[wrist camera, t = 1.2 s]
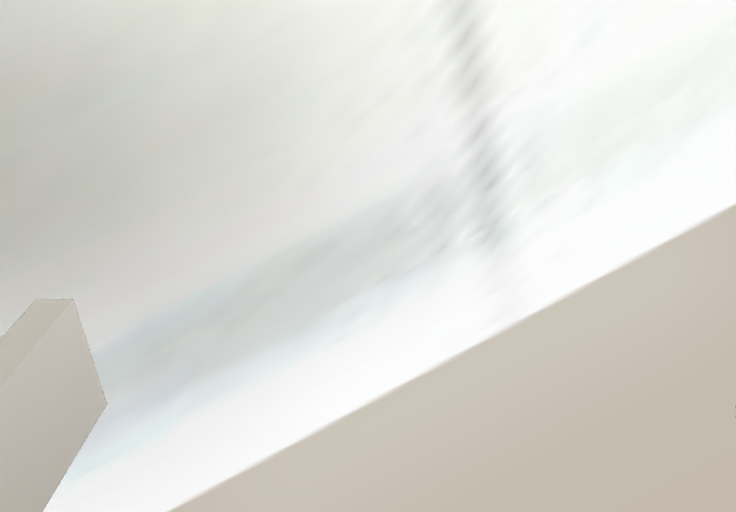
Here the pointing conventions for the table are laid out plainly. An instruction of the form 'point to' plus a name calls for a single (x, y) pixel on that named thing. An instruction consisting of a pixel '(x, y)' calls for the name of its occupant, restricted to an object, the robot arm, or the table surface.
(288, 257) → the table surface
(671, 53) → the table surface
